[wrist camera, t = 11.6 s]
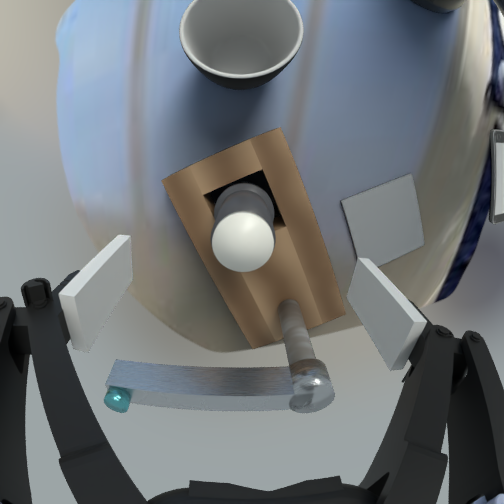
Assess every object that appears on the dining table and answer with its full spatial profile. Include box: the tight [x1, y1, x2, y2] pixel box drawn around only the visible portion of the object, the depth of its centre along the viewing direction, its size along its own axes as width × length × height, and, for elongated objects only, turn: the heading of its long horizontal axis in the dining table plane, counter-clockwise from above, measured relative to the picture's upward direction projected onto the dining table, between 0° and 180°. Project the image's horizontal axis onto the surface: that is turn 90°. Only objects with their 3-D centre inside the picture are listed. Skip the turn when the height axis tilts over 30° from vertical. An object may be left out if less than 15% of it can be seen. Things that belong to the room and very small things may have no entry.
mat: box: [341, 173, 424, 267], centre depth 32 cm, size 10×10×1 cm
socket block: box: [161, 127, 346, 366], centre depth 26 cm, size 12×22×14 cm, turn 23°
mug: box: [179, 0, 303, 90], centre depth 19 cm, size 12×9×10 cm
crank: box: [104, 359, 335, 413], centre depth 19 cm, size 18×4×4 cm, turn 89°
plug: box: [210, 181, 276, 272], centre depth 24 cm, size 5×5×13 cm
